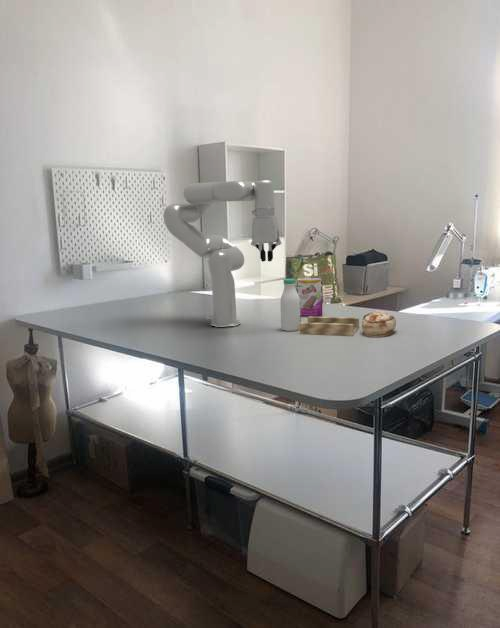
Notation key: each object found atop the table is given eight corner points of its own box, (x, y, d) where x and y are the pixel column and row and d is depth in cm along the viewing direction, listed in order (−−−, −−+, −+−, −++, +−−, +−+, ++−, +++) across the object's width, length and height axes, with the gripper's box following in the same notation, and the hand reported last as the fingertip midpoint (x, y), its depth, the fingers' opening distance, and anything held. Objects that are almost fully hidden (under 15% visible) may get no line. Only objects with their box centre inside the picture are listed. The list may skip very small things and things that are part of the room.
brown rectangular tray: (299, 333, 203) (299, 323, 202) (309, 326, 216) (309, 316, 215) (352, 335, 196) (352, 325, 195) (359, 327, 209) (359, 317, 208)
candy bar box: (297, 317, 236) (296, 280, 233) (297, 314, 241) (296, 278, 238) (322, 316, 235) (322, 279, 232) (322, 314, 240) (321, 277, 237)
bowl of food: (390, 328, 206) (391, 307, 205) (403, 336, 192) (403, 314, 190) (356, 329, 206) (356, 309, 205) (365, 338, 191) (365, 316, 190)
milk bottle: (299, 331, 207) (298, 280, 203) (279, 331, 208) (278, 280, 205) (301, 327, 214) (300, 277, 211) (282, 327, 216) (281, 278, 212)
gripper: (242, 214, 206) (244, 262, 209) (281, 212, 200) (283, 261, 203) (249, 214, 213) (251, 260, 216) (287, 212, 207) (289, 260, 210)
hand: (266, 260), depth 210 cm, fingers closed
